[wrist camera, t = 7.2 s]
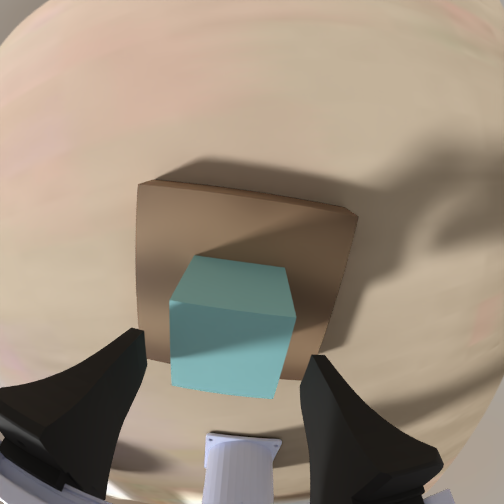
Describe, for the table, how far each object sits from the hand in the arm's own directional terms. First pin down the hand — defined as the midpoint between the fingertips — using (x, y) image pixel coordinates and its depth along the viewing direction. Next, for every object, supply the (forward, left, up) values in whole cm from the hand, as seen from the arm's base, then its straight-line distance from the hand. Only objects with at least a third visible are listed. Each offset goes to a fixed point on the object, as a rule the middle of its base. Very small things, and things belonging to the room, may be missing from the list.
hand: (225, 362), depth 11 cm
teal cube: (0, 0, -5) cm, 5 cm away
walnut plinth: (0, 0, -8) cm, 8 cm away
